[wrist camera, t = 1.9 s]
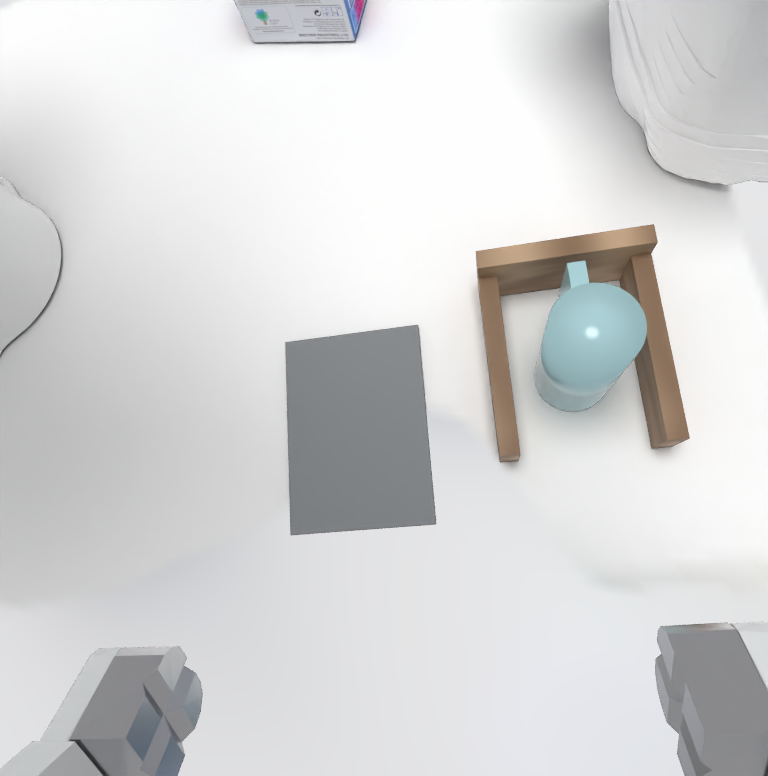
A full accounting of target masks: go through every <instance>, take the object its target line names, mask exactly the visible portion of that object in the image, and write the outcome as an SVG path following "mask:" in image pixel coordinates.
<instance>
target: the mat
mask: <svg viewBox="0 0 768 776" xmlns="http://www.w3.org/2000/svg"><path fill="white" fill-rule="evenodd" d="M285 345H286V382H287V419H288V456H289V493H290V527H291V528H290V530H291V535H300V534H314V533H326V532H340V531H354V530H367V529H379V528H393V527H406V526H421V525H434V524H436V516H435V505H434V494H433V483H432V472H431V461H430V450H429V439H428V428H427V416H426V405H425V394H424V383H423V372H422V361H421V350H420V339H419V328H418V325H412V326H405V327H397V328H390V329H382V330H375V331H367V332H360V333H352V334H345V335H337V336H330V337H322V338H314V339H307V340H299V341H292V342H285Z"/></svg>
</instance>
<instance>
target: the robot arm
mask: <svg viewBox="0 0 768 776" xmlns="http://www.w3.org/2000/svg"><path fill="white" fill-rule="evenodd" d="M60 264H61V246H60V240H59V236H58V233H57V230H56V228H55V226H54V224H53V222H52V221H51V219H50V218H49V217H48V216H47V215H46V214H45V213H44V212H43V211H42V210H41V209H39V208H38V207H36V206H34V205H32V204H30V203H28V202H26V201H25V200H23V199H22V198H20V197H19V195H18V193H17V192H16V190H15V188H14V187H13V186H12V184H11V183H10V182H9V181H7V180H5V179H4V178H2V177H0V354H1V352H2V350H3V349H4V348H5V347H6V346H7V345H8V344H9V343H10V342H11V341H12V340H13V339H14V338H16V337H17V336H18V335H19V334H21V333H22V332H23V331H24V330H25V329H26V328H27V327H28V326H29V325H30V324H31V323H32V322H33V321H34V320H35V319H36V318H37V317H38V315H39V314H40V313H41V311H42V310H43V308H44V307H45V305H46V304H47V302H48V300H49V298H50V296H51V294H52V292H53V290H54V287H55V285H56V282H57V279H58V275H59V270H60ZM657 642H658V645H659V648H660V650H661V653H662V654H661V655H660V656H658V657H657V658H656V665H655V674H656V682H657V689H658V694H659V698H660V702H661V705H662V709H663V712H664V715H665V718H666V721H667V723H668V724H669V725H670V726H671V727H672V728H673V729H674V730H675V731H676V732H677V733H679V741H678V751H677V755H678V757H679V760H680V763H681V766H682V769H683V772H684V775H685V776H768V623H767V622H749V623H732V624H728V623H710V624H692V625H675V626H661V627H660V628H659V630H658V637H657ZM186 659H187V657H186V656H185V654H184V652H183V651H182V649H181V648H180V647H178V646H177V647H137V648H127V647H126V648H125V647H124V648H100V649H98V650H97V651H96V652H94V653H93V654H92V655H91V656H90V657H89V658H88V660H87V662H86V663H85V665H84V667H83V669H82V670H81V672H80V674H79V675H78V677H77V679H76V680H75V682H74V684H73V685H72V687H71V689H70V691H69V692H68V694H67V696H66V697H65V699H64V701H63V703H62V704H61V706H60V708H59V709H58V711H57V713H56V714H55V716H54V718H53V720H52V721H51V723H50V725H49V726H48V728H47V730H46V731H45V733H44V735H43V737H42V738H41V740H40V741H32V742H31V743H30V744H29V745H28V746H26V747H25V748H24V749H23V750H22V751H20V752H19V753H18V754H17V755H16V756H15V757H13V758H12V759H11V760H10V761H9V762H7V763H6V764H5V765H4V766H3V767H2V768H0V776H177V775H178V773H179V770H180V767H181V764H182V762H183V759H184V756H185V754H184V749H183V746H182V741H183V740H184V739H185V738H186V737H187V736H188V735H189V734H190V733H191V732H192V731H193V730H194V729H195V726H196V724H197V720H198V718H199V715H200V712H201V704H202V688H201V682H200V680H199V678H198V676H197V674H196V673H195V672H193V671H191V670H190V669H188V668H187V667H185V666H184V663H185V661H186Z"/></svg>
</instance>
